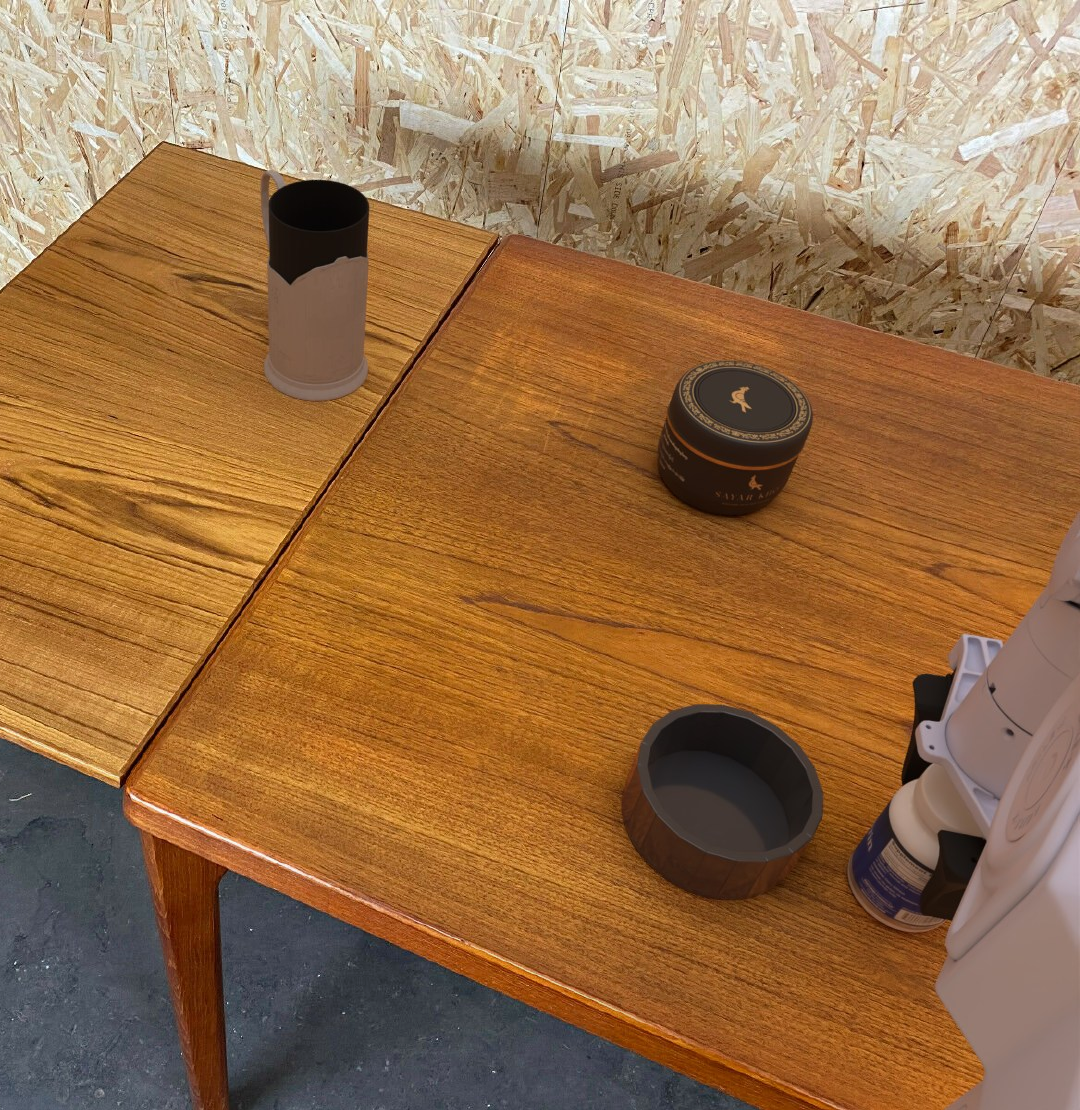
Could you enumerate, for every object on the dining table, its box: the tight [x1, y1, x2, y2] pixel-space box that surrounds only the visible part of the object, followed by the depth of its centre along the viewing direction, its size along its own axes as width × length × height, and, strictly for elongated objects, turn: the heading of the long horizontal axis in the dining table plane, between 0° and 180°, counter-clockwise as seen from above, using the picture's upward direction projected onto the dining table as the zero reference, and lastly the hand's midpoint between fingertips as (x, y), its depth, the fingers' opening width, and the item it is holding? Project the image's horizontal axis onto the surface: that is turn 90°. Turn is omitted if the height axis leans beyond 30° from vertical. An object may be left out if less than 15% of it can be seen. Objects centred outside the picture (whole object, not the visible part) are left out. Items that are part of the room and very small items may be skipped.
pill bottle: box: [846, 763, 985, 933], centre depth 61 cm, size 6×6×10 cm
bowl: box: [621, 703, 824, 901], centre depth 66 cm, size 10×10×4 cm
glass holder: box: [259, 169, 370, 402], centre depth 92 cm, size 9×14×15 cm, turn 28°
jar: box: [657, 359, 814, 516], centre depth 85 cm, size 10×10×8 cm
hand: (929, 846), depth 61 cm, fingers open, 7 cm apart
